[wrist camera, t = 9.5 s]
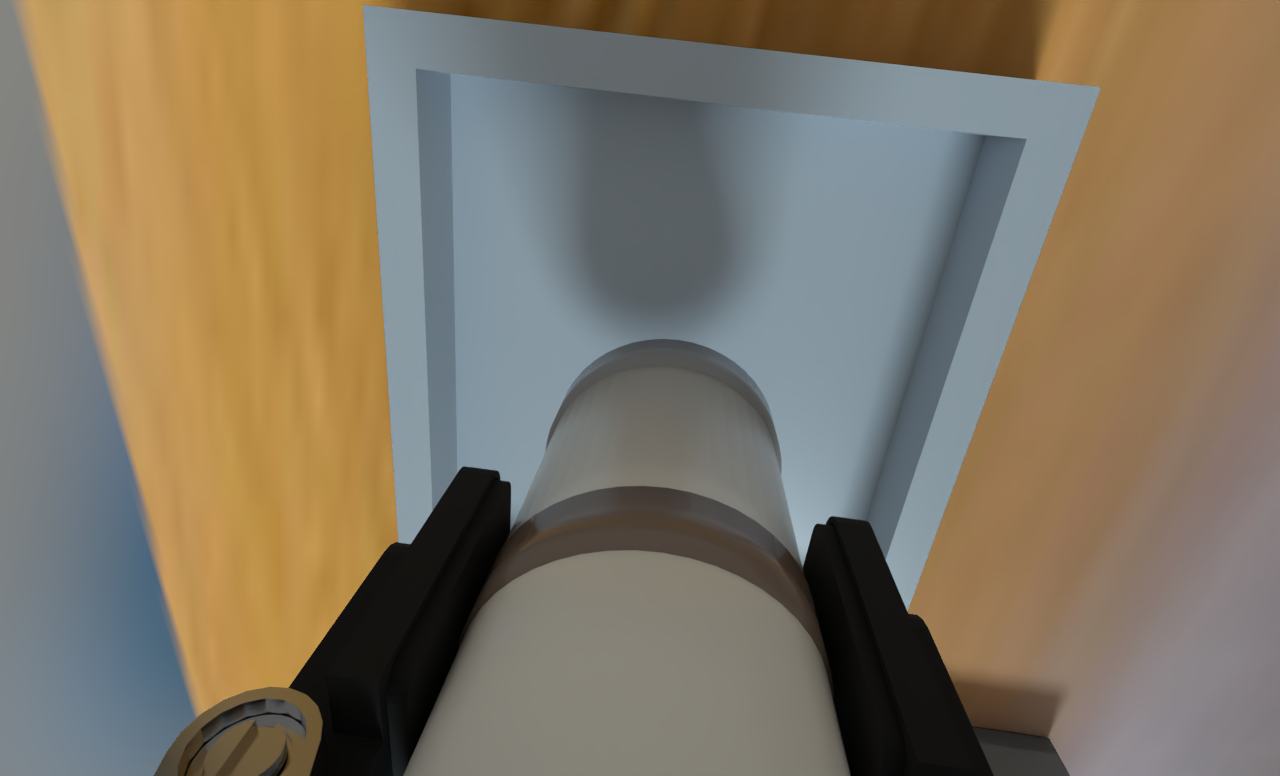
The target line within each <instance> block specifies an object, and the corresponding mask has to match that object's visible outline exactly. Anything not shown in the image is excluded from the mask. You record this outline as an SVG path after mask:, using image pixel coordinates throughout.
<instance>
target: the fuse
mask: <svg viewBox="0 0 1280 776" xmlns="http://www.w3.org/2000/svg"><path fill="white" fill-rule="evenodd" d="M781 473H782V459H781V453H780V446H779V442H778V438H777V434H776V430H775V426H774V422H773V418H772V415H771V412H770V408H769V405H768V403H767V401H766V399H765V397H764V395H763V393H762V392H761V390H760V389H759V387H758V386H757V384H756V383H755V381H754V380H753V379H752V378H751V377H750V376H749V375H748V374H747V373H746V371H744V370H743V369H742V368H741V367H740V366H739V365H737V364H736V363H735V362H734V361H732V360H731V359H729V358H727V357H726V356H724V355H723V354H721V353H719V352H717V351H715V350H712V349H710V348H708V347H705V346H702V345H699V344H696V343H692V342H687V341H682V340H673V339H652V340H644V341H638V342H633V343H630V344H627V345H624V346H621V347H618V348H616V349H614V350H612V351H609V352H607V353H605V354H604V355H602V356H601V357H599V358H598V359H596V360H595V361H593V362H592V363H591V364H590V365H589V366H587V367H586V368H585V369H584V370H583V371H582V372H581V373H580V374H579V376H578V377H577V378H576V379H575V380H574V382H573V383H572V385H571V386H570V388H569V389H568V391H567V393H566V395H565V397H564V400H563V402H562V404H561V406H560V408H559V411H558V413H557V415H556V417H555V419H554V421H553V424H552V426H551V428H550V431H549V435H548V438H547V442H546V450H545V454H544V456H543V459H542V461H541V463H540V465H539V468H538V470H537V472H536V475H535V477H534V479H533V481H532V484H531V486H530V488H529V491H528V493H527V495H526V497H525V500H524V502H523V504H522V506H521V509H520V511H519V513H518V516H517V518H516V520H515V522H514V525H513V527H512V529H511V531H510V534H509V536H508V538H507V541H506V542H505V543H504V545H503V546H502V548H501V549H500V551H499V552H498V554H497V555H496V557H495V559H494V562H493V564H492V566H491V568H490V570H489V572H488V575H487V577H486V579H485V581H484V584H483V586H482V588H481V590H480V593H479V595H478V597H477V599H476V601H475V604H474V606H473V608H472V610H471V613H470V615H469V617H468V619H467V622H466V624H465V626H464V628H463V630H462V633H461V635H460V637H459V641H458V652H457V654H456V657H455V659H454V661H453V663H452V666H451V668H450V670H449V672H448V675H447V677H446V679H445V682H444V684H443V686H442V688H441V691H440V693H439V695H438V698H437V700H436V702H435V704H434V707H433V709H432V711H431V713H430V716H429V718H428V720H427V723H426V725H425V727H424V729H423V732H422V734H421V736H420V738H419V741H418V743H417V745H416V748H415V750H414V752H413V754H412V757H411V759H410V761H409V763H408V766H407V768H406V770H405V773H404V775H403V776H851V774H850V770H849V765H848V761H847V757H846V752H845V748H844V744H843V740H842V735H841V731H840V727H839V722H838V718H837V714H836V709H835V705H834V701H833V699H834V687H833V680H832V673H831V669H830V665H829V661H828V657H827V652H826V648H825V644H824V640H823V636H822V632H821V627H820V623H819V619H818V615H817V611H816V607H815V603H814V599H813V596H812V593H811V590H810V586H809V583H808V581H807V579H806V577H805V575H804V572H803V568H802V563H801V559H800V555H799V551H798V546H797V542H796V538H795V533H794V529H793V525H792V520H791V516H790V512H789V508H788V503H787V499H786V495H785V490H784V486H783V482H782V478H781Z"/></svg>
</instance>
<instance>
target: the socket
mask: <svg viewBox="0 0 1280 776" xmlns="http://www.w3.org/2000/svg"><path fill="white" fill-rule="evenodd" d="M972 728H973V730H974V732H975V734H976V737H977V739H978V741H979V743H980V746H981V748H982V750H983V752H984V755H985V757H986V759H987V761H988V764H989V766H990V768H991V770H992V772H993V775H994V776H1070V775H1069V773H1068V771H1067V770H1066V768H1065V766H1064V764H1063V763H1062V761H1061V759H1060V757H1059V755H1058V754H1057V752H1056V750H1055V748H1054V746H1053V745H1052V743H1051V741H1050V739H1049V738H1044V737H1037V736H1030V735H1023V734H1017V733H1010V732H1003V731H997V730H990V729H983V728H976V727H972Z"/></svg>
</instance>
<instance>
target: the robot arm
mask: <svg viewBox="0 0 1280 776" xmlns="http://www.w3.org/2000/svg"><path fill="white" fill-rule="evenodd" d="M510 522H511V483H510V482H509V481H501V480H500V473H499V472H498V471H496V470H489V469H481V468H474V467H466V466H464V467H462V468H461V469H460V470H459V471H458V473H457V474H456V476H455V477H454V479H453V481H452V482H451V484H450V485H449V487H448V488H447V490H446V491H445V493H444V494H443V496H442V497H441V499H440V500H439V502H438V503H437V505H436V506H435V508H434V509H433V511H432V513H431V514H430V516H429V517H428V519H427V520H426V522H425V523H424V525H423V526H422V528H421V529H420V531H419V532H418V534H417V535H416V537H415V538H414V540H413V541H412V543H411V544H406V543H398V542H396V543H394V544H391V545H390V546H389V547H388V548H387V550H386V551H385V552H384V553H383V555H382V556H381V557H380V559H379V560H378V562H377V563H376V565H375V566H374V567H373V569H372V570H371V572H370V573H369V574H368V576H367V577H366V579H365V580H364V582H363V583H362V584H361V586H360V587H359V589H358V590H357V592H356V593H355V594H354V596H353V597H352V599H351V600H350V601H349V603H348V604H347V606H346V607H345V609H344V610H343V611H342V613H341V614H340V616H339V617H338V619H337V620H336V621H335V623H334V624H333V626H332V627H331V628H330V630H329V631H328V633H327V634H326V636H325V637H324V638H323V640H322V641H321V643H320V644H319V645H318V647H317V648H316V650H315V651H314V653H313V654H312V655H311V657H310V658H309V660H308V661H307V663H306V664H305V665H304V667H303V668H302V670H301V671H300V672H299V674H298V675H297V677H296V678H295V680H294V681H293V682H292V684H291V685H290V687H289V688H279V687H267V688H261V689H256V690H250V691H246V692H243V693H241V694H238V695H236V696H233V697H231V698H228V699H225V700H223V701H221V702H220V703H218V704H217V705H215V706H213V707H212V708H210V709H208V710H207V711H205V712H204V713H202V714H200V715H199V716H198V717H197V718H196V719H195V720H194V721H193V722H192V723H190V724H189V725H188V726H187V727H186V728H185V729H184V730H183V731H182V732H181V733H180V734H179V735H178V737H177V738H176V740H175V741H174V742H173V744H172V745H171V747H170V748H169V749H168V751H167V752H166V754H165V756H164V758H163V759H162V761H161V763H160V765H159V767H158V769H157V771H156V772H155V774H154V776H403V775H404V773H405V770H406V768H407V766H408V763H409V761H410V759H411V757H412V754H413V752H414V750H415V748H416V745H417V743H418V741H419V738H420V736H421V734H422V732H423V729H424V727H425V725H426V723H427V720H428V718H429V716H430V713H431V711H432V709H433V707H434V704H435V702H436V700H437V698H438V695H439V693H440V691H441V688H442V686H443V684H444V682H445V679H446V677H447V675H448V672H449V670H450V668H451V666H452V663H453V661H454V659H455V657H456V654H457V652H458V641H459V637H460V635H461V633H462V630H463V628H464V626H465V624H466V622H467V619H468V617H469V615H470V613H471V610H472V608H473V606H474V604H475V601H476V599H477V597H478V595H479V593H480V590H481V588H482V586H483V584H484V581H485V579H486V577H487V575H488V572H489V570H490V568H491V566H492V564H493V562H494V559H495V557H496V555H497V554H498V552H499V551H500V549H501V548H502V546H503V545H504V543H505V542H506V541H507V538H508V536H509V534H510ZM803 572H804V575H805V577H806V579H807V581H808V583H809V586H810V590H811V593H812V596H813V599H814V603H815V607H816V611H817V615H818V619H819V623H820V627H821V632H822V636H823V640H824V644H825V648H826V652H827V657H828V661H829V665H830V669H831V673H832V680H833V687H834V699H833V701H834V705H835V709H836V714H837V718H838V722H839V727H840V731H841V735H842V740H843V744H844V748H845V752H846V757H847V761H848V765H849V770H850V774H851V776H994V775H993V772H992V770H991V768H990V766H989V764H988V761H987V759H986V757H985V755H984V752H983V750H982V748H981V746H980V743H979V741H978V739H977V737H976V734H975V732H974V730H973V728H972V725H971V723H970V721H969V719H968V717H967V714H966V712H965V710H964V708H963V705H962V703H961V701H960V699H959V696H958V694H957V692H956V690H955V687H954V685H953V683H952V681H951V678H950V676H949V674H948V672H947V669H946V667H945V665H944V663H943V661H942V658H941V656H940V654H939V652H938V649H937V647H936V645H935V643H934V640H933V638H932V636H931V634H930V631H929V629H928V627H927V626H926V624H925V622H924V621H923V619H922V618H920V617H919V616H918V615H913V614H908V612H907V610H906V607H905V605H904V602H903V600H902V598H901V595H900V593H899V590H898V588H897V586H896V583H895V581H894V579H893V576H892V574H891V571H890V569H889V567H888V564H887V562H886V560H885V557H884V555H883V552H882V550H881V548H880V545H879V543H878V541H877V538H876V536H875V533H874V531H873V529H872V526H871V525H870V523H869V522H868V521H865V520H858V519H851V518H843V517H836V516H831V517H829V518H828V520H827V522H826V525H825V524H818V523H817V524H816V525H815V526H814V529H813V532H812V535H811V539H810V543H809V546H808V550H807V554H806V557H805V561H804V565H803Z"/></svg>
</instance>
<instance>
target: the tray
mask: <svg viewBox="0 0 1280 776" xmlns="http://www.w3.org/2000/svg"><path fill="white" fill-rule="evenodd" d="M363 15H364V30H365V45H366V60H367V75H368V90H369V105H370V120H371V135H372V150H373V165H374V180H375V195H376V210H377V225H378V240H379V255H380V270H381V285H382V300H383V315H384V330H385V345H386V360H387V375H388V390H389V405H390V421H391V436H392V451H393V466H394V481H395V496H396V511H397V526H398V541H399V543H406V544H411V543H412V541H413V540H414V538H415V537H416V535H417V534H418V532H419V531H420V529H421V528H422V526H423V525H424V523H425V522H426V520H427V519H428V517H429V516H430V514H431V513H432V511H433V509H434V508H435V506H436V505H437V503H438V502H439V500H440V499H441V497H442V496H443V494H444V493H445V491H446V490H447V488H448V487H449V485H450V484H451V482H452V481H453V479H454V477H455V476H456V474H457V473H458V471H459V470H460V469H461V468H462V467H464V466H466V467H474V468H481V469H489V470H496V471H498V472H499V473H500V480H501V481H509V482H510V483H511V522H510V531H511V529H512V527H513V525H514V522H515V520H516V518H517V516H518V513H519V511H520V509H521V506H522V504H523V502H524V500H525V497H526V495H527V493H528V491H529V488H530V486H531V484H532V481H533V479H534V477H535V475H536V472H537V470H538V468H539V465H540V463H541V461H542V459H543V456H544V454H545V450H546V442H547V438H548V435H549V431H550V428H551V426H552V424H553V421H554V419H555V417H556V415H557V413H558V411H559V408H560V406H561V404H562V402H563V400H564V397H565V395H566V393H567V391H568V389H569V388H570V386H571V385H572V383H573V382H574V380H575V379H576V378H577V377H578V376H579V374H580V373H581V372H582V371H583V370H584V369H585V368H586V367H587V366H589V365H590V364H591V363H592V362H593V361H595V360H596V359H598V358H599V357H601V356H602V355H604V354H605V353H607V352H609V351H612V350H614V349H616V348H618V347H621V346H624V345H627V344H630V343H633V342H638V341H644V340H652V339H673V340H682V341H687V342H692V343H696V344H699V345H702V346H705V347H708V348H710V349H712V350H715V351H717V352H719V353H721V354H723V355H724V356H726V357H727V358H729V359H731V360H732V361H734V362H735V363H736V364H737V365H739V366H740V367H741V368H742V369H743V370H744V371H746V373H747V374H748V375H749V376H750V377H751V378H752V379H753V380H754V381H755V383H756V384H757V386H758V387H759V389H760V390H761V392H762V393H763V395H764V397H765V399H766V401H767V403H768V405H769V408H770V412H771V415H772V418H773V422H774V426H775V430H776V434H777V438H778V442H779V446H780V453H781V459H782V473H781V478H782V482H783V486H784V490H785V495H786V499H787V503H788V508H789V512H790V516H791V520H792V525H793V529H794V533H795V538H796V542H797V546H798V551H799V555H800V559H801V563H802V568H803V565H804V561H805V557H806V554H807V550H808V546H809V543H810V539H811V535H812V532H813V529H814V526H815V525H816V524H817V523H818V524H825V525H826V522H827V520H828V518H829V517H831V516H836V517H843V518H851V519H858V520H865V521H868V522H869V523H870V525H871V526H872V529H873V531H874V533H875V536H876V538H877V541H878V543H879V545H880V548H881V550H882V552H883V555H884V557H885V560H886V562H887V564H888V567H889V569H890V571H891V574H892V576H893V579H894V581H895V583H896V586H897V588H898V590H899V593H900V595H901V598H902V600H903V602H904V605H905V607H906V610H907V611H908V609H909V606H910V603H911V600H912V598H913V595H914V592H915V590H916V587H917V584H918V582H919V579H920V576H921V573H922V571H923V568H924V565H925V563H926V560H927V557H928V554H929V552H930V549H931V546H932V544H933V541H934V538H935V536H936V533H937V530H938V527H939V525H940V522H941V519H942V517H943V514H944V511H945V508H946V506H947V503H948V500H949V498H950V495H951V492H952V490H953V487H954V484H955V481H956V479H957V476H958V473H959V471H960V468H961V465H962V463H963V460H964V457H965V454H966V452H967V449H968V446H969V444H970V441H971V438H972V435H973V433H974V430H975V427H976V425H977V422H978V419H979V417H980V414H981V411H982V408H983V406H984V403H985V400H986V398H987V395H988V392H989V389H990V387H991V384H992V381H993V379H994V376H995V373H996V371H997V368H998V365H999V362H1000V360H1001V357H1002V354H1003V352H1004V349H1005V346H1006V343H1007V341H1008V338H1009V335H1010V333H1011V330H1012V327H1013V325H1014V322H1015V319H1016V316H1017V314H1018V311H1019V308H1020V306H1021V303H1022V300H1023V297H1024V295H1025V292H1026V289H1027V287H1028V284H1029V281H1030V279H1031V276H1032V273H1033V270H1034V268H1035V265H1036V262H1037V260H1038V257H1039V254H1040V251H1041V249H1042V246H1043V243H1044V241H1045V238H1046V235H1047V233H1048V230H1049V227H1050V224H1051V222H1052V219H1053V216H1054V214H1055V211H1056V208H1057V206H1058V203H1059V200H1060V197H1061V195H1062V192H1063V189H1064V187H1065V184H1066V181H1067V178H1068V176H1069V173H1070V170H1071V168H1072V165H1073V162H1074V160H1075V157H1076V154H1077V151H1078V149H1079V146H1080V143H1081V141H1082V138H1083V135H1084V132H1085V130H1086V127H1087V124H1088V122H1089V119H1090V116H1091V114H1092V111H1093V108H1094V105H1095V103H1096V100H1097V97H1098V95H1099V92H1100V89H1101V87H1094V86H1085V85H1076V84H1067V83H1058V82H1049V81H1040V80H1031V79H1022V78H1013V77H1004V76H995V75H986V74H977V73H968V72H959V71H950V70H942V69H933V68H924V67H915V66H906V65H897V64H888V63H879V62H870V61H861V60H852V59H843V58H834V57H825V56H816V55H807V54H798V53H789V52H781V51H772V50H763V49H754V48H745V47H736V46H727V45H718V44H709V43H700V42H691V41H682V40H673V39H664V38H655V37H646V36H637V35H628V34H620V33H611V32H602V31H593V30H584V29H575V28H566V27H557V26H548V25H539V24H530V23H521V22H512V21H503V20H494V19H485V18H476V17H467V16H458V15H450V14H441V13H432V12H423V11H414V10H405V9H396V8H387V7H378V6H369V5H363Z"/></svg>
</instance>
